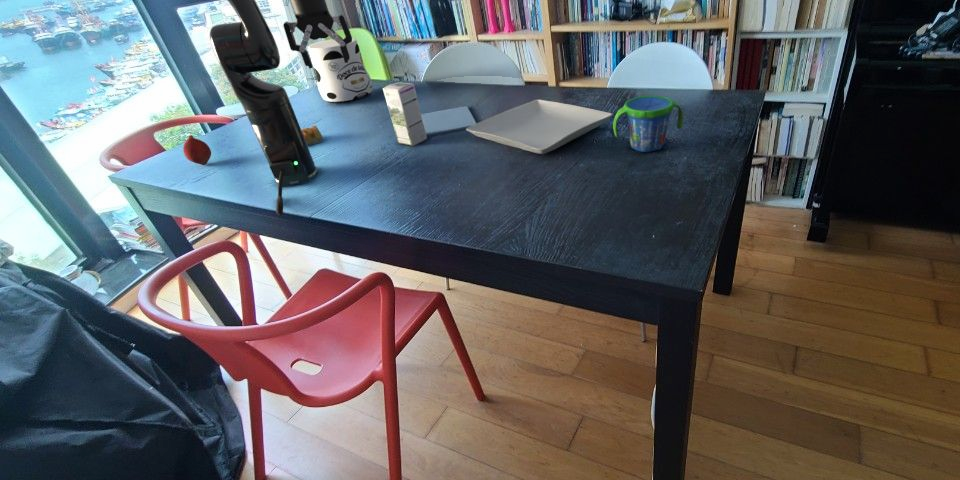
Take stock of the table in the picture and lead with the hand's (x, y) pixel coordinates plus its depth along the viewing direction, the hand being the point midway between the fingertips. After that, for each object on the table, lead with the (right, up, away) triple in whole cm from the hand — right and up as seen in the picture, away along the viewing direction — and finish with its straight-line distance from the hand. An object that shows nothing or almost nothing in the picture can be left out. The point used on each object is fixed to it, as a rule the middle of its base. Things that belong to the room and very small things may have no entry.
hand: (329, 64), depth 119 cm
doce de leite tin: (-13, +8, +46) cm, 48 cm away
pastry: (-12, -16, +14) cm, 24 cm away
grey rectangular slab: (+26, -8, +19) cm, 33 cm away
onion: (-36, -23, +7) cm, 44 cm away
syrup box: (+19, -17, +8) cm, 26 cm away
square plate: (+53, -16, +4) cm, 55 cm away
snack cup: (+77, -23, -8) cm, 81 cm away
